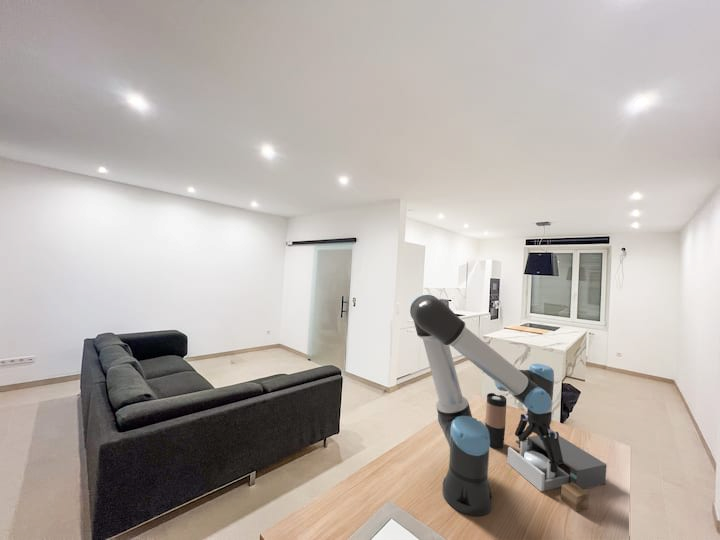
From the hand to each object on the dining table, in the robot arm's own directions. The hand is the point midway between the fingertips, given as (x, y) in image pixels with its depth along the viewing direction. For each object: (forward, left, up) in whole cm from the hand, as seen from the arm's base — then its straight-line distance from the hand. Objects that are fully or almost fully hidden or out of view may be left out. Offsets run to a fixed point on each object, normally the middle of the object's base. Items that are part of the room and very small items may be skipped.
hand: (536, 468), depth 109 cm
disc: (0, 0, +2) cm, 2 cm away
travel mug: (-2, +19, -2) cm, 19 cm away
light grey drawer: (+1, 0, -2) cm, 2 cm away
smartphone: (+13, +10, -3) cm, 17 cm away
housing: (+13, 0, -2) cm, 13 cm away
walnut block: (0, -14, -2) cm, 14 cm away
